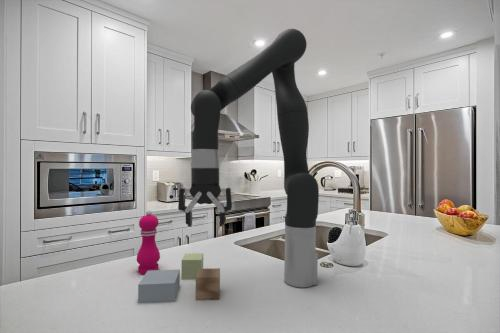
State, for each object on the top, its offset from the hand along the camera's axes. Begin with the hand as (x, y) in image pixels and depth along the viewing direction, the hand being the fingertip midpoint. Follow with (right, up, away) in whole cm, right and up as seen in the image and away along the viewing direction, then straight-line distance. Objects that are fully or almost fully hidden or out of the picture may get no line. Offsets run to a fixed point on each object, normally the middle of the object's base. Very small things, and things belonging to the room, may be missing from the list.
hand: (205, 226), depth 73 cm
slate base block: (-12, -19, 0) cm, 22 cm away
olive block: (-6, -19, +12) cm, 23 cm away
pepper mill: (-21, -18, +15) cm, 32 cm away
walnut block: (+1, -19, 0) cm, 19 cm away
